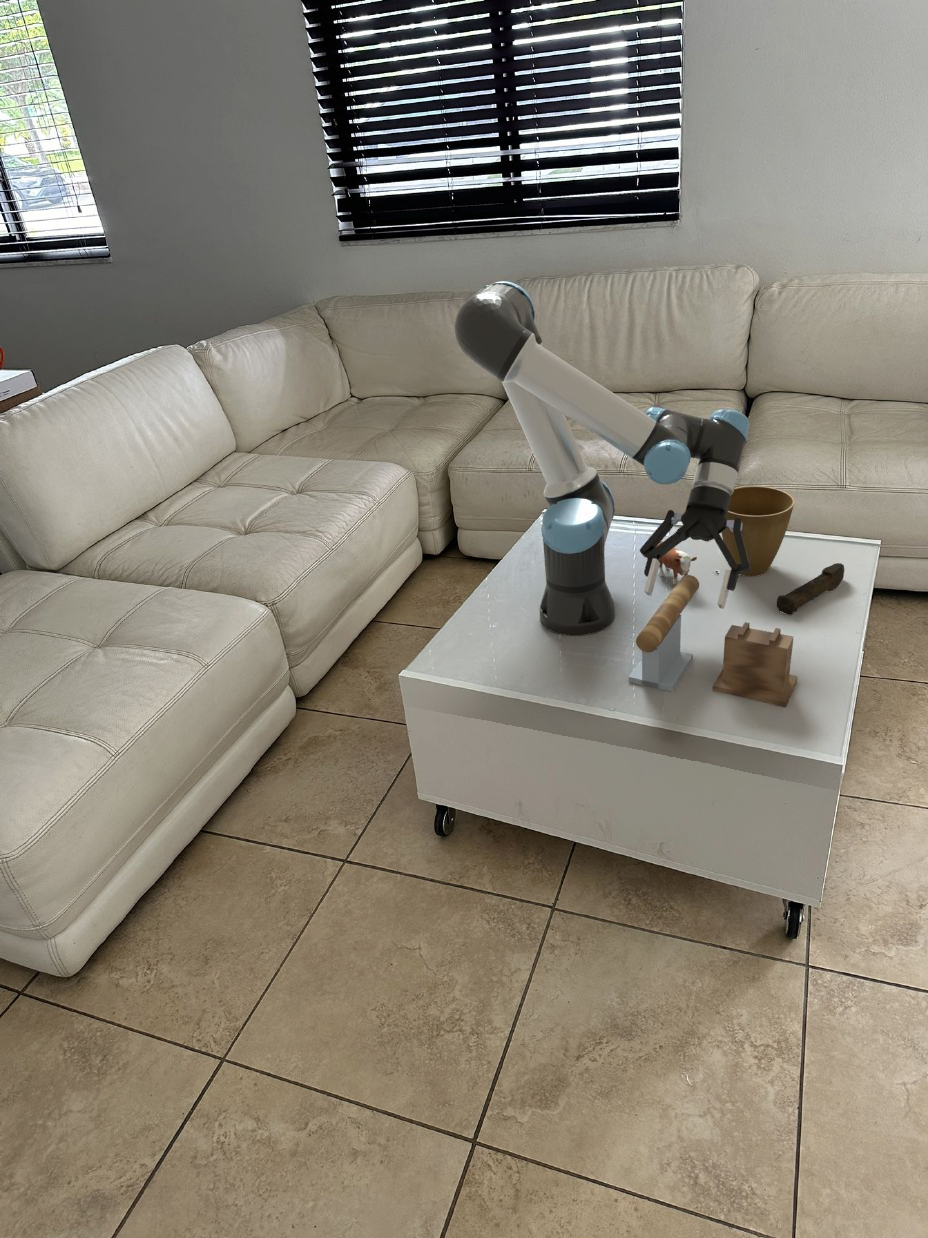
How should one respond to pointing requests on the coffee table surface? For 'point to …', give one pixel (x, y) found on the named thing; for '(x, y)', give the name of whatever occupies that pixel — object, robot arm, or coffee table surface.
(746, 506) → the plant pot
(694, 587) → the rod
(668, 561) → the bull figurine
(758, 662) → the wooden stand
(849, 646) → the coffee table surface
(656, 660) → the cradle
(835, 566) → the hand tool
